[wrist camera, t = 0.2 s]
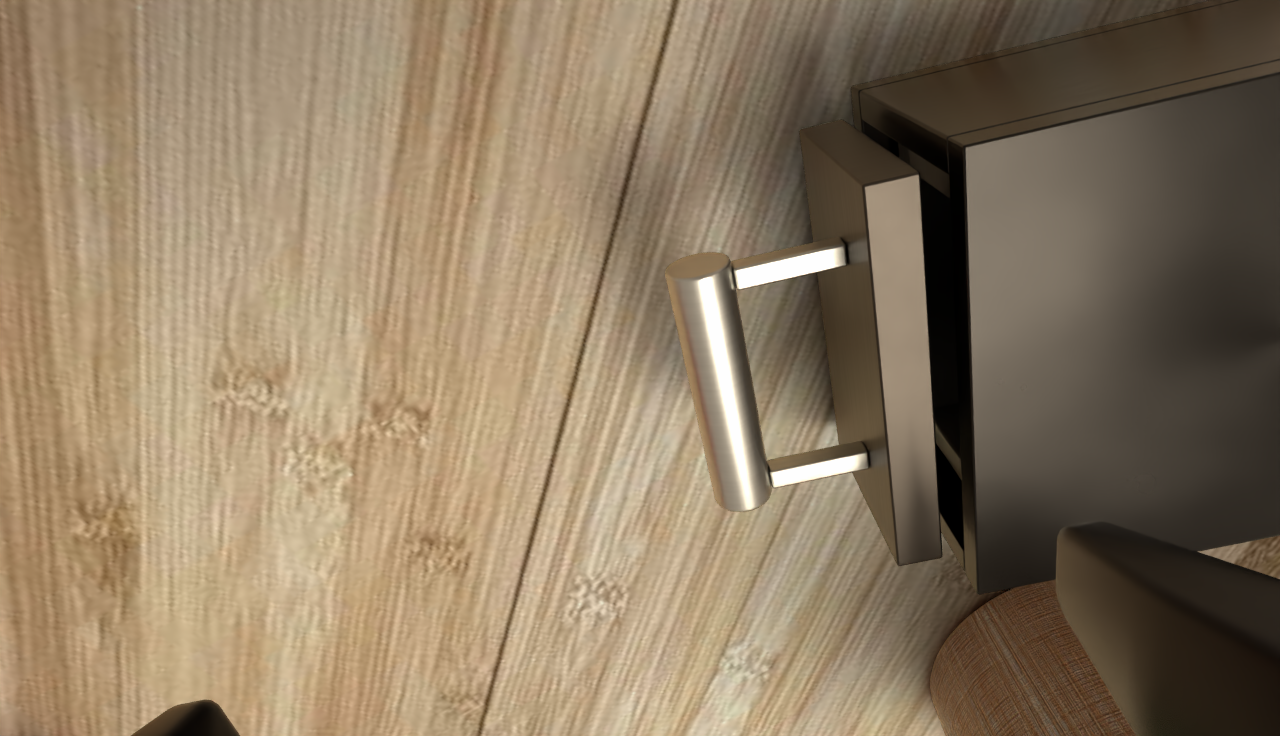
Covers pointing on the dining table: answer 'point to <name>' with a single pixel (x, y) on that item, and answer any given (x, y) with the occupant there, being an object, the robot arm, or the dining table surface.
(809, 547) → the dining table surface
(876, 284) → the drawer
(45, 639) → the dining table surface
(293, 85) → the dining table surface
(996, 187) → the drawer cabinet
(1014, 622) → the planter
